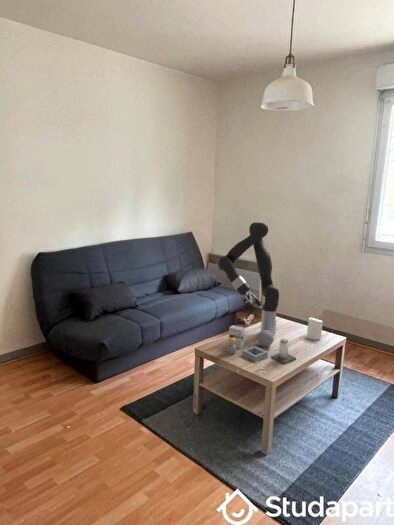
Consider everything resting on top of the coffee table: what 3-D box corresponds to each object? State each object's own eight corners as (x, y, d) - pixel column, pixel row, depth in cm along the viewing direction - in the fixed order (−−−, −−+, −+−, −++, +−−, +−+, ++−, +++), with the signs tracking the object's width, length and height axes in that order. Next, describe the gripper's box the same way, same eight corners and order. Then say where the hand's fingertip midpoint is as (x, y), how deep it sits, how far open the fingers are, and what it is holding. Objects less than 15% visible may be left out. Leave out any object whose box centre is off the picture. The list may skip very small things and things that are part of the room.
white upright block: (304, 336, 256) (305, 319, 254) (311, 333, 262) (313, 316, 260) (316, 340, 250) (318, 323, 247) (323, 337, 256) (325, 320, 253)
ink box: (227, 345, 238) (228, 327, 236) (231, 342, 242) (232, 324, 240) (240, 348, 234) (242, 330, 232) (243, 345, 238) (245, 327, 236)
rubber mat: (281, 353, 229) (281, 351, 229) (295, 359, 222) (296, 357, 222) (270, 357, 223) (271, 356, 223) (285, 364, 216) (285, 362, 215)
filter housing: (243, 346, 238) (244, 338, 237) (267, 356, 224) (268, 348, 223) (225, 352, 228) (225, 344, 227) (249, 364, 214) (249, 355, 213)
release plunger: (231, 340, 229) (232, 336, 228) (236, 343, 226) (237, 339, 225) (227, 342, 226) (227, 338, 226) (232, 344, 223) (232, 340, 223)
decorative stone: (272, 350, 233) (273, 334, 231) (255, 348, 235) (256, 332, 233) (273, 343, 243) (274, 328, 241) (257, 341, 245) (258, 326, 243)
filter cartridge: (282, 354, 226) (283, 337, 224) (289, 357, 222) (290, 340, 220) (277, 356, 223) (278, 339, 221) (284, 359, 219) (285, 342, 217)
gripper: (241, 286, 239) (257, 307, 236) (231, 291, 227) (248, 314, 224) (249, 279, 235) (266, 300, 232) (240, 284, 223) (258, 307, 220)
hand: (257, 307), depth 228 cm, fingers open, 8 cm apart
